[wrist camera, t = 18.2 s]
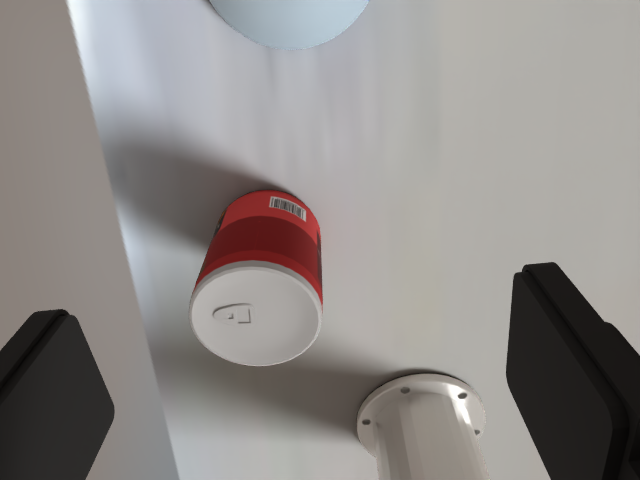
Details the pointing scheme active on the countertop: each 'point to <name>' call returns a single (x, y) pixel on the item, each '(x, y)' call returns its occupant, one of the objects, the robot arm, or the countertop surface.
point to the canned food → (260, 281)
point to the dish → (289, 20)
